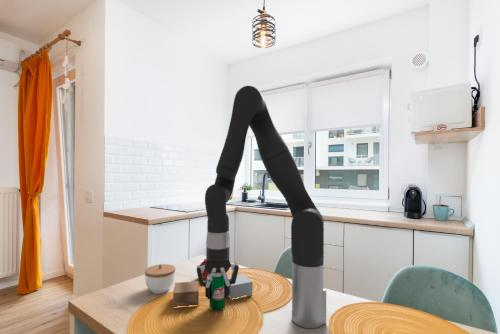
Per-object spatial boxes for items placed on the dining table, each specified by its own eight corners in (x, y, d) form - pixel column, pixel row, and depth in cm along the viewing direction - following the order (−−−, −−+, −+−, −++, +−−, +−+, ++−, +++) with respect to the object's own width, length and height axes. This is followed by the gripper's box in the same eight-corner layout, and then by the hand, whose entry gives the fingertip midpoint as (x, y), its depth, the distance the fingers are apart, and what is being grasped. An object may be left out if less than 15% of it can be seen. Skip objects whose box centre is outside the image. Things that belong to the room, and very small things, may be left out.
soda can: (213, 313, 82) (214, 274, 82) (206, 306, 86) (207, 269, 86) (227, 309, 85) (228, 271, 85) (220, 302, 89) (221, 266, 89)
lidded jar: (149, 299, 91) (149, 272, 91) (141, 288, 99) (141, 263, 100) (179, 291, 97) (179, 265, 97) (169, 281, 106) (169, 258, 106)
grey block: (242, 286, 101) (242, 273, 101) (252, 295, 94) (252, 281, 94) (223, 290, 98) (223, 277, 98) (231, 300, 90) (231, 285, 91)
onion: (214, 275, 112) (214, 256, 112) (210, 281, 106) (210, 261, 106) (200, 275, 112) (200, 256, 113) (196, 280, 107) (196, 260, 107)
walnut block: (198, 295, 94) (198, 281, 94) (198, 306, 86) (198, 291, 86) (175, 297, 92) (175, 282, 93) (173, 308, 85) (173, 293, 85)
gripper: (195, 249, 81) (194, 305, 80) (241, 247, 84) (241, 301, 83) (195, 242, 88) (195, 294, 88) (238, 240, 91) (237, 290, 91)
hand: (217, 297), depth 86 cm, fingers closed on soda can, 5 cm apart
